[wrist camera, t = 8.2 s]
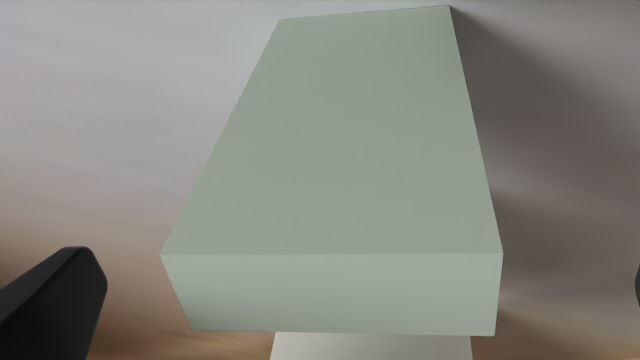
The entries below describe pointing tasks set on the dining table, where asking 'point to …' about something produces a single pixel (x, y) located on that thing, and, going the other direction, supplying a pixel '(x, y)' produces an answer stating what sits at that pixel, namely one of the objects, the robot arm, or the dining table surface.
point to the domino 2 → (369, 346)
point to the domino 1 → (345, 189)
